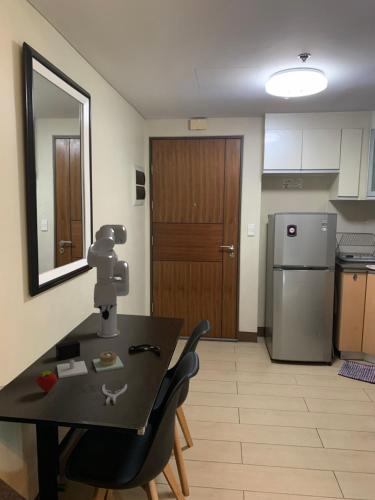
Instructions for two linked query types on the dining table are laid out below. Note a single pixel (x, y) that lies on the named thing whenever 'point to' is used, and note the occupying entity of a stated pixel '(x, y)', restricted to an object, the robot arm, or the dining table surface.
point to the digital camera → (67, 350)
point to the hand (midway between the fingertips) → (105, 318)
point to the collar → (108, 358)
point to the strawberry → (46, 380)
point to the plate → (105, 368)
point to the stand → (71, 369)
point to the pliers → (112, 396)
